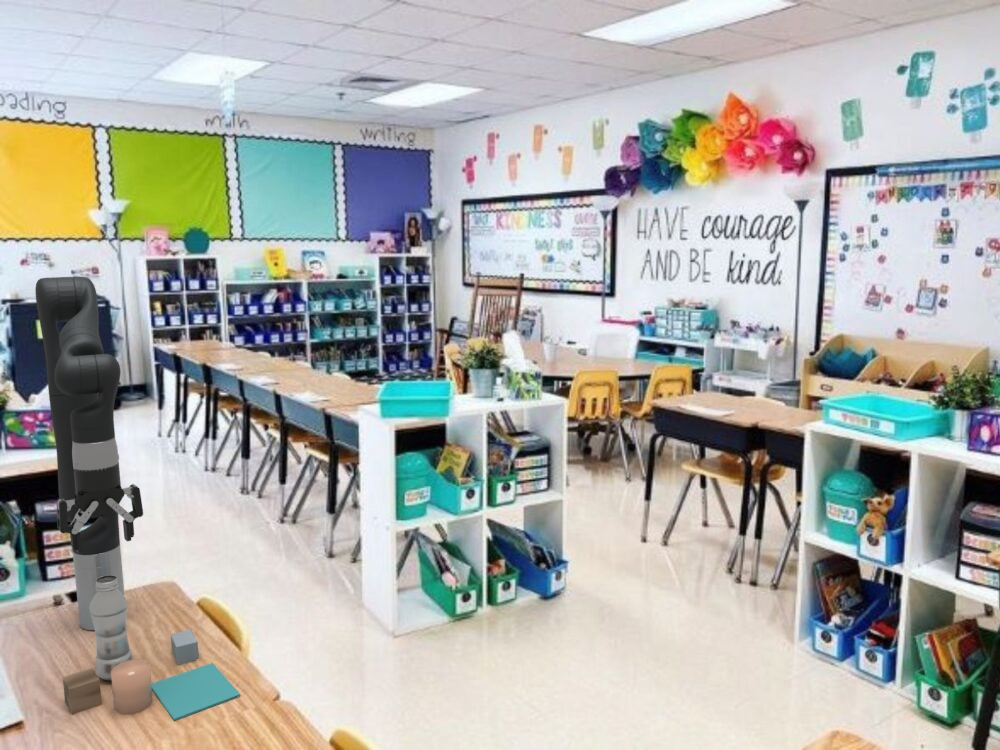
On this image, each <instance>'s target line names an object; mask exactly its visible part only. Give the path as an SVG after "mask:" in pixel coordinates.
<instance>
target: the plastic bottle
mask: <svg viewBox="0 0 1000 750" xmlns="http://www.w3.org/2000/svg"><path fill="white" fill-rule="evenodd" d="M117 588H118V582H117V576H115V575H105V576H101V577H99V578H97V579H96V591H98V592H97V593H96V595H95V596H94V598H93V599H92V601H91V603H90V613H91V617H92V621H93V624H94V628H95V630H94V632H95V633H94V634H95V641H96V652H95V653H96V655H95V661H94V662H95V663H94V666H95V668H94V669H95V673H96V675H97V676H98V678H99V679H100V678H101V679H102V680H104V681H112V679H111V671H112V669H113V668H114V667H115V666H117V665H118V664H120V663H123V662H125V661H129V660H134V658H133V653H132V650H131V648H130V644H129V643H130V642H129V638H128V630H127V626H128V625H127V617H128V600H127V598H126V596H124V595H125V594H124V595H123V594H122V593H121V592H120V591H119V590H118V589H117Z"/></svg>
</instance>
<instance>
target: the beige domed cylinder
mask: <svg viewBox="0 0 1000 750" xmlns="http://www.w3.org/2000/svg"><path fill="white" fill-rule="evenodd" d="M111 679H112V680H111V686H112V687H111V689H112V697H113V698H112V700H113V709H114V711H115V713H118V714H120V715H133V714H136V713H139V712H142V711H144V710H146V709H148V708H149V707H150V706H151V705H152V703H153V700H154V699H153V690H152V686H151V684H152V674H151V665H150V662H149V661H148V660H145V659H140V658H139V659H136V658H135V659H133V660H129V661H125V662H123V663H120V664H118V665H117V666H115V667H114V668H113V669H112V671H111Z"/></svg>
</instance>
